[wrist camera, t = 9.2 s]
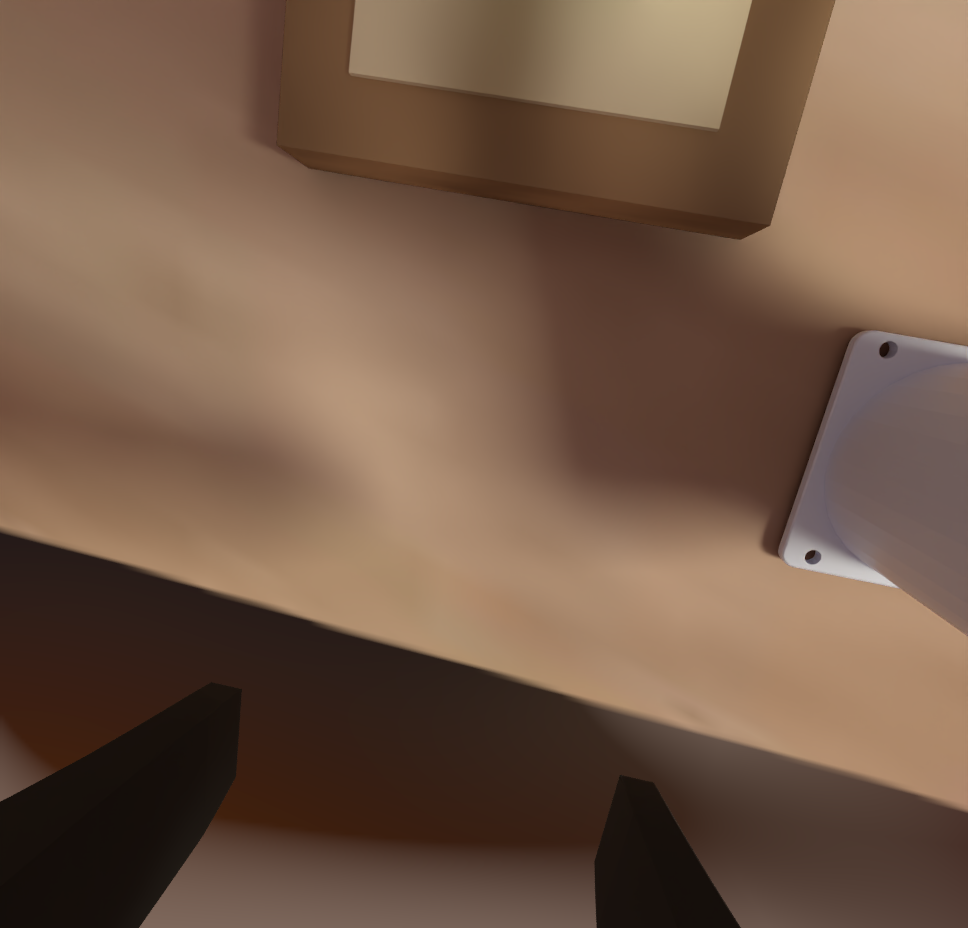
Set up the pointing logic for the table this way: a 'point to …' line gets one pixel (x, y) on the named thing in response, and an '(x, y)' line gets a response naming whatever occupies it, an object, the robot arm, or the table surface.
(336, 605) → the table surface
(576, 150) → the plinth
